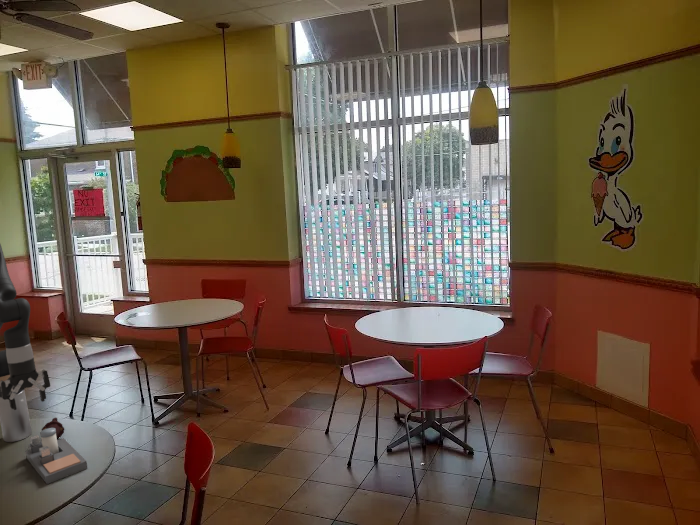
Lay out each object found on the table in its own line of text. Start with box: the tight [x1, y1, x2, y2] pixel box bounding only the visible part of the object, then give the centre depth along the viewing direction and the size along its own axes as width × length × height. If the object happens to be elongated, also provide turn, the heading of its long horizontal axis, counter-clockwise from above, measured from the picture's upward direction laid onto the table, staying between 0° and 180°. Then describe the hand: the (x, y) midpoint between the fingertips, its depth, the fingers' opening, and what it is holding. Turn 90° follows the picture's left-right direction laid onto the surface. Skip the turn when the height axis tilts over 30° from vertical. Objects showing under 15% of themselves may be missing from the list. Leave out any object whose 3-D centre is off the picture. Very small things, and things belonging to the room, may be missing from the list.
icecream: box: [41, 417, 65, 439], centre depth 201 cm, size 7×7×15 cm
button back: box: [29, 434, 41, 447], centre depth 187 cm, size 2×2×3 cm
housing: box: [25, 437, 88, 485], centre depth 182 cm, size 25×12×4 cm, turn 43°
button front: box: [39, 446, 50, 458], centre depth 179 cm, size 2×2×3 cm
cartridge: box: [39, 428, 59, 455], centre depth 185 cm, size 5×5×10 cm
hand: (28, 405), depth 185 cm, fingers open, 8 cm apart
